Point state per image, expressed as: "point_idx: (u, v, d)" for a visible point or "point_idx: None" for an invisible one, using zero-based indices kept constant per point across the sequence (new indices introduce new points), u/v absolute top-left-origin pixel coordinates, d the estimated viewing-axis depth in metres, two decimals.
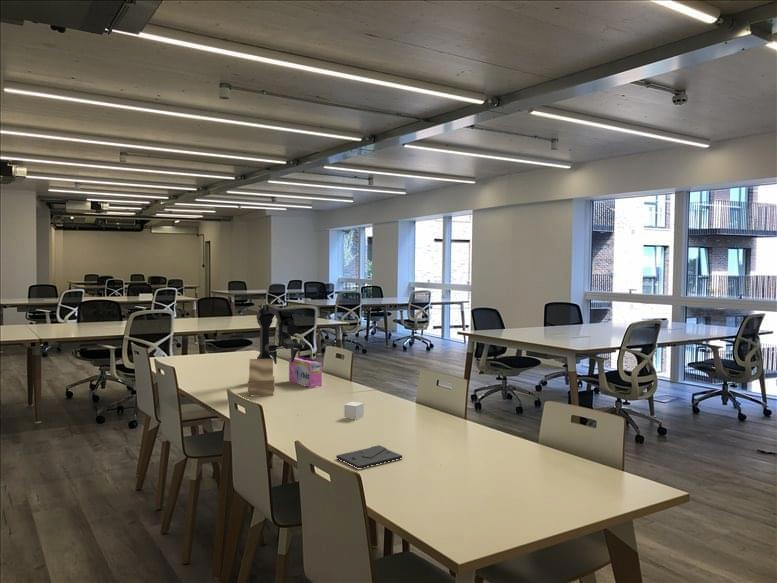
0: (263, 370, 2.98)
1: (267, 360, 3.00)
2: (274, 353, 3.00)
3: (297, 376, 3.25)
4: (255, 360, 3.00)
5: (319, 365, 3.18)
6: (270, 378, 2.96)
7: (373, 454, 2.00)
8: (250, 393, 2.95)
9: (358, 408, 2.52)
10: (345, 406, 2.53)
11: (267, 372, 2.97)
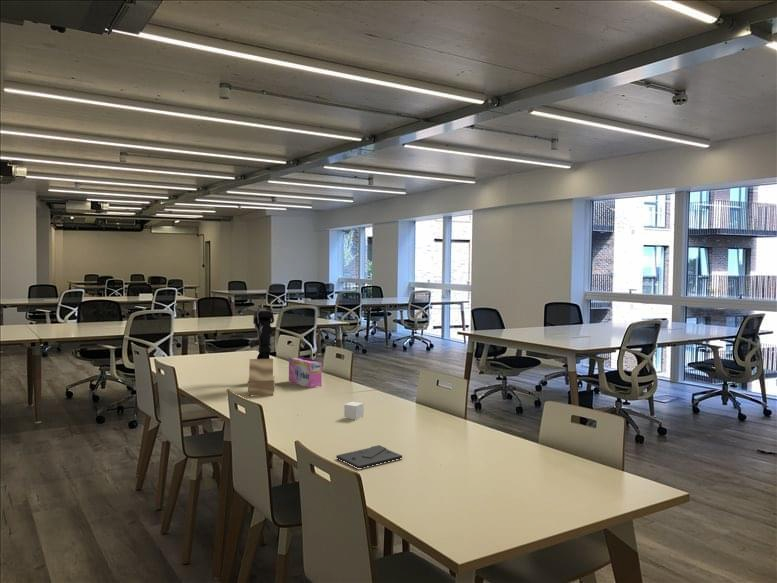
0: (263, 370, 2.98)
1: (267, 360, 3.00)
2: None
3: (297, 377, 3.24)
4: (255, 360, 3.00)
5: (318, 365, 3.18)
6: (270, 378, 2.96)
7: (373, 454, 2.00)
8: (250, 393, 2.95)
9: (358, 408, 2.52)
10: (345, 406, 2.53)
11: (267, 372, 2.97)
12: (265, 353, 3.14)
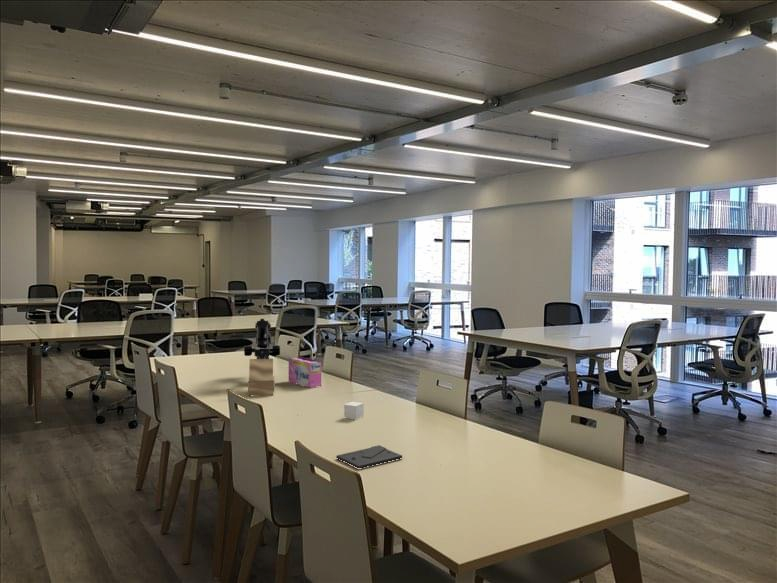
0: (263, 370, 2.98)
1: (267, 360, 3.00)
2: None
3: (297, 377, 3.24)
4: (255, 360, 3.00)
5: (318, 365, 3.18)
6: (270, 378, 2.96)
7: (373, 454, 2.00)
8: (250, 393, 2.95)
9: (358, 408, 2.52)
10: (345, 406, 2.53)
11: (267, 372, 2.97)
12: None
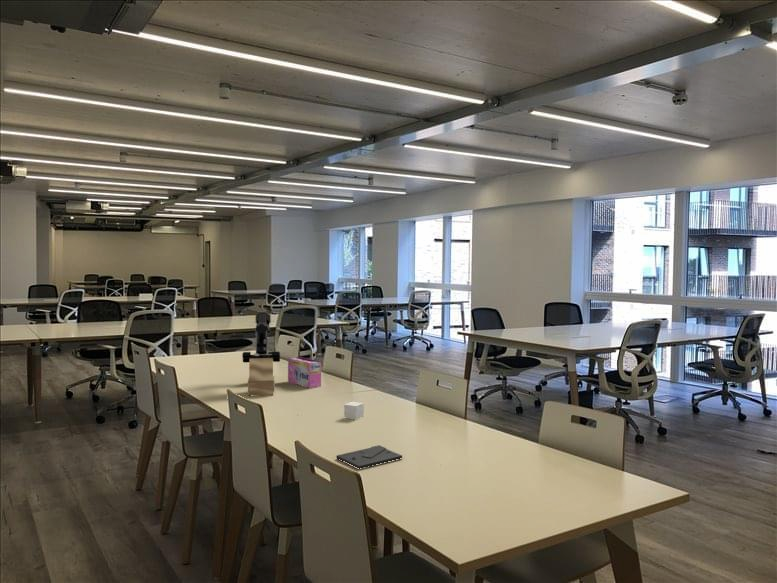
0: (263, 370, 2.97)
1: (267, 359, 2.99)
2: None
3: (297, 377, 3.23)
4: (255, 359, 2.98)
5: (318, 365, 3.17)
6: (270, 378, 2.96)
7: (373, 454, 2.00)
8: (250, 393, 2.95)
9: (358, 408, 2.52)
10: (345, 406, 2.53)
11: (267, 372, 2.97)
12: None
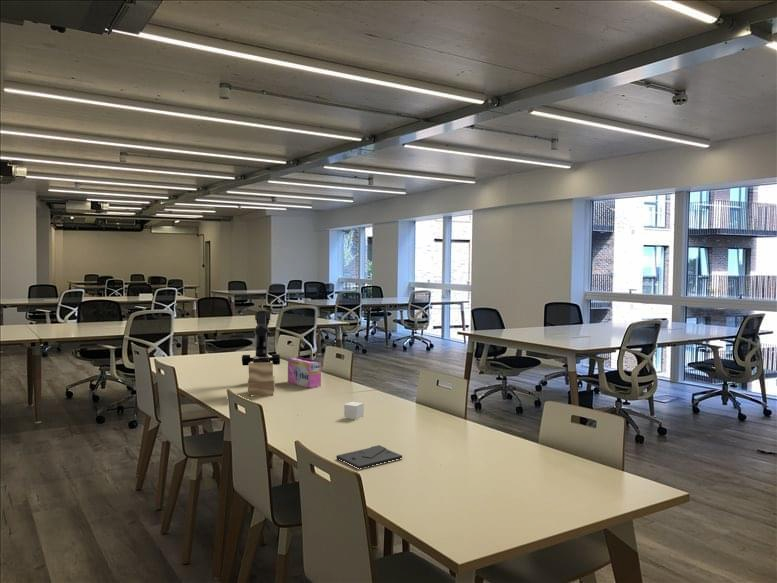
0: (263, 373, 2.92)
1: (267, 364, 2.90)
2: None
3: (296, 377, 3.23)
4: (254, 364, 2.89)
5: (318, 365, 3.17)
6: (269, 379, 2.95)
7: (373, 454, 2.00)
8: (250, 393, 2.95)
9: (358, 408, 2.52)
10: (345, 406, 2.53)
11: (267, 374, 2.93)
12: None
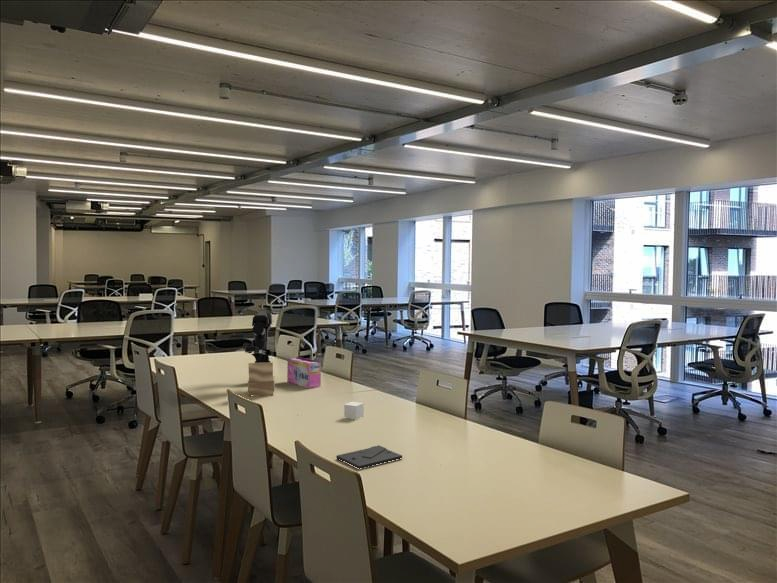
0: (263, 373, 2.92)
1: (267, 364, 2.90)
2: None
3: (296, 377, 3.23)
4: (254, 364, 2.89)
5: (318, 365, 3.17)
6: (269, 379, 2.95)
7: (373, 454, 2.00)
8: (250, 393, 2.95)
9: (358, 408, 2.52)
10: (345, 406, 2.53)
11: (267, 374, 2.93)
12: (258, 357, 3.09)
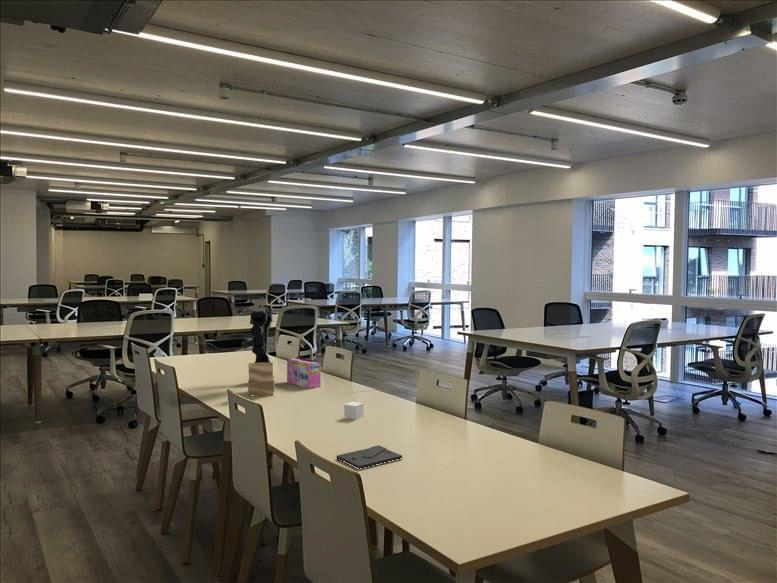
0: (263, 373, 2.92)
1: (267, 364, 2.90)
2: None
3: (296, 377, 3.22)
4: (254, 364, 2.89)
5: (317, 365, 3.17)
6: (269, 379, 2.95)
7: (373, 454, 2.00)
8: (250, 393, 2.95)
9: (358, 408, 2.52)
10: (345, 406, 2.53)
11: (267, 374, 2.93)
12: (259, 354, 3.11)
